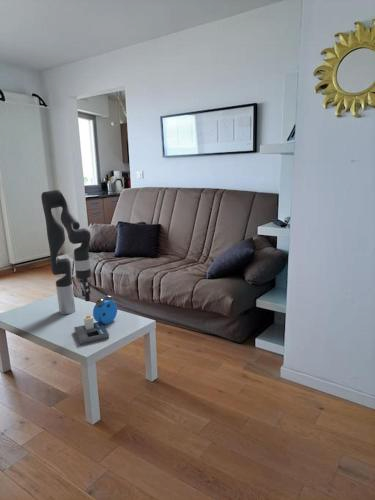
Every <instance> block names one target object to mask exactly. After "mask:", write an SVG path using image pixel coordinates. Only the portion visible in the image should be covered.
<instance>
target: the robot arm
mask: <svg viewBox="0 0 375 500" xmlns="http://www.w3.org/2000/svg"><path fill="white" fill-rule="evenodd" d="M40 197H41V204H42V208H43V212H44V218H45V225H46V235H47V241H48V247H49V248H48V249H49V255H50V256H49V257H50V268H51V273H52V274H53V276H57V275H58V276H59V275H64V276H62V277H61V278H58V279H57V280H56V281H55V286H56V295H57V296H56V297H57V303H58V310H59V311H58V312H59V314H61V315H70V314H72V313H74V312H75V311H76V304H75V303H76V302H75V294H74V289H73V287H74V286H73V280H72V279H73V278H72V268H71V267H72V266H71V260H70V259H69V258H67V257H65V258H57V256H58V253H59V252H60V250H61V248H62V247H63V245H64V244H65V241H66V234H67V239H68V241H69V243H71V244H72V245H76V244H80V246H78V247H76V248H74V250H73V256H74V258H73V259H74V271H75V278H76V279H78V280H79V287H80V289H81V296H82V297H84V301H85V302H90V300H91V297H90V295H91V287H90V281H89V278H91V277H92V268H91V260H90V253H89V250H90V245H91V236H92V235H91V232H90V230H89V229H88V228H86V227H85V228H84V227H83V228H80V227H81V225H80V222H79V221H78V220H77V218H76V217H75V215H74V213H73V212H72V210H71V208H70V205H69V203H68V200H67V199H66V197H65V195H64V193H63V192H62V190H59V189H54V190H49V191H47V190H46V191H43V192H42V193H41V196H40ZM56 208H61V209H62V210H61V213H60V222H61V223H60V222H59V220H58V219H57V218H56V217H55V216H54V214H53V213H52V209H56ZM65 230H66V234H65Z"/></svg>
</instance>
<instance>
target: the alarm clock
mask: <svg viewBox="0 0 375 500" xmlns="http://www.w3.org/2000/svg"><path fill="white" fill-rule="evenodd" d="M94 303H95V304H94V306H93V311H92V317H93V320H94V321H96V322H101V323H102V324H103V325H108V324H111V323H112V322H113V321H114V320H115V319H116V317H117V313H118V306H117V304H116V302H115V301H114V297H113V296H112V295H106V296H104V298H98V299H97V300H96V301H95V302H94Z"/></svg>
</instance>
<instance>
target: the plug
mask: <svg viewBox="0 0 375 500" xmlns="http://www.w3.org/2000/svg"><path fill="white" fill-rule="evenodd" d="M93 323H94V317H93V315H91V314H86V315H85V316H83V325H85V330H89V329H93V328H94V324H93Z"/></svg>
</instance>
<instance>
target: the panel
mask: <svg viewBox="0 0 375 500" xmlns="http://www.w3.org/2000/svg"><path fill="white" fill-rule="evenodd" d="M93 324H94V328H93V329H89V330H85V325H84V324H83V325H79V326H75V327H74V334H75V336H76V338H77V340H78V342H79V345H80V346H83V345H88V344H91V343H95V342H96V343H97V342H100V341H104V340H107V339H110V334H109V332H108V330H107V328H106V327H105V325H104V324H103V323H101V322H97V321H96V322H93Z"/></svg>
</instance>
